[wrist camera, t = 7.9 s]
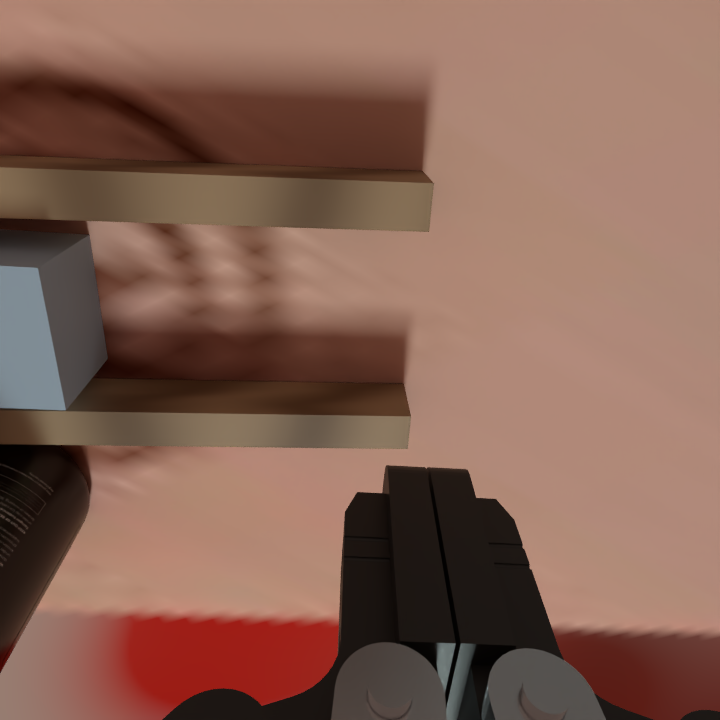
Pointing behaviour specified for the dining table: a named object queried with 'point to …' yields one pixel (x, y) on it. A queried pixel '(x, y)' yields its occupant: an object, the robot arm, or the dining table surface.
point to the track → (216, 207)
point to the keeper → (47, 319)
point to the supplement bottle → (34, 529)
